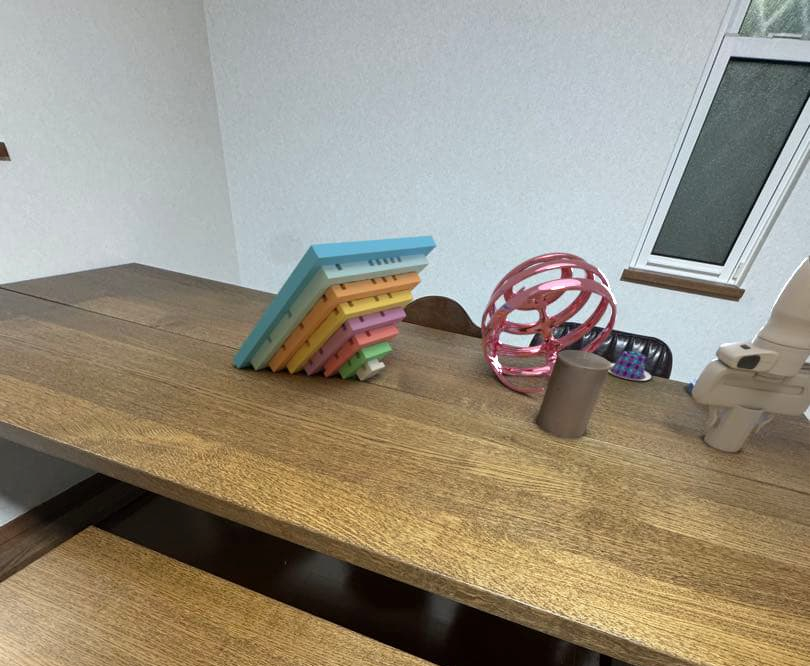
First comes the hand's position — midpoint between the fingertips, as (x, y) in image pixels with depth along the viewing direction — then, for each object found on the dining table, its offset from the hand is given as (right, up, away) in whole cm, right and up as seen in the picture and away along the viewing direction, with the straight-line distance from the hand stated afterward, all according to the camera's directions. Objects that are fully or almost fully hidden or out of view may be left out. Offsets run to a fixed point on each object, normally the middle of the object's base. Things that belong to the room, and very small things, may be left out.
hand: (730, 429), depth 89 cm
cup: (0, -3, +2) cm, 4 cm away
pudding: (-6, +22, +31) cm, 38 cm away
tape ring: (+12, +14, +24) cm, 30 cm away
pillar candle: (-33, 0, +2) cm, 33 cm away
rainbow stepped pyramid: (-81, +18, +15) cm, 84 cm away
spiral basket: (-35, +16, +19) cm, 43 cm away
